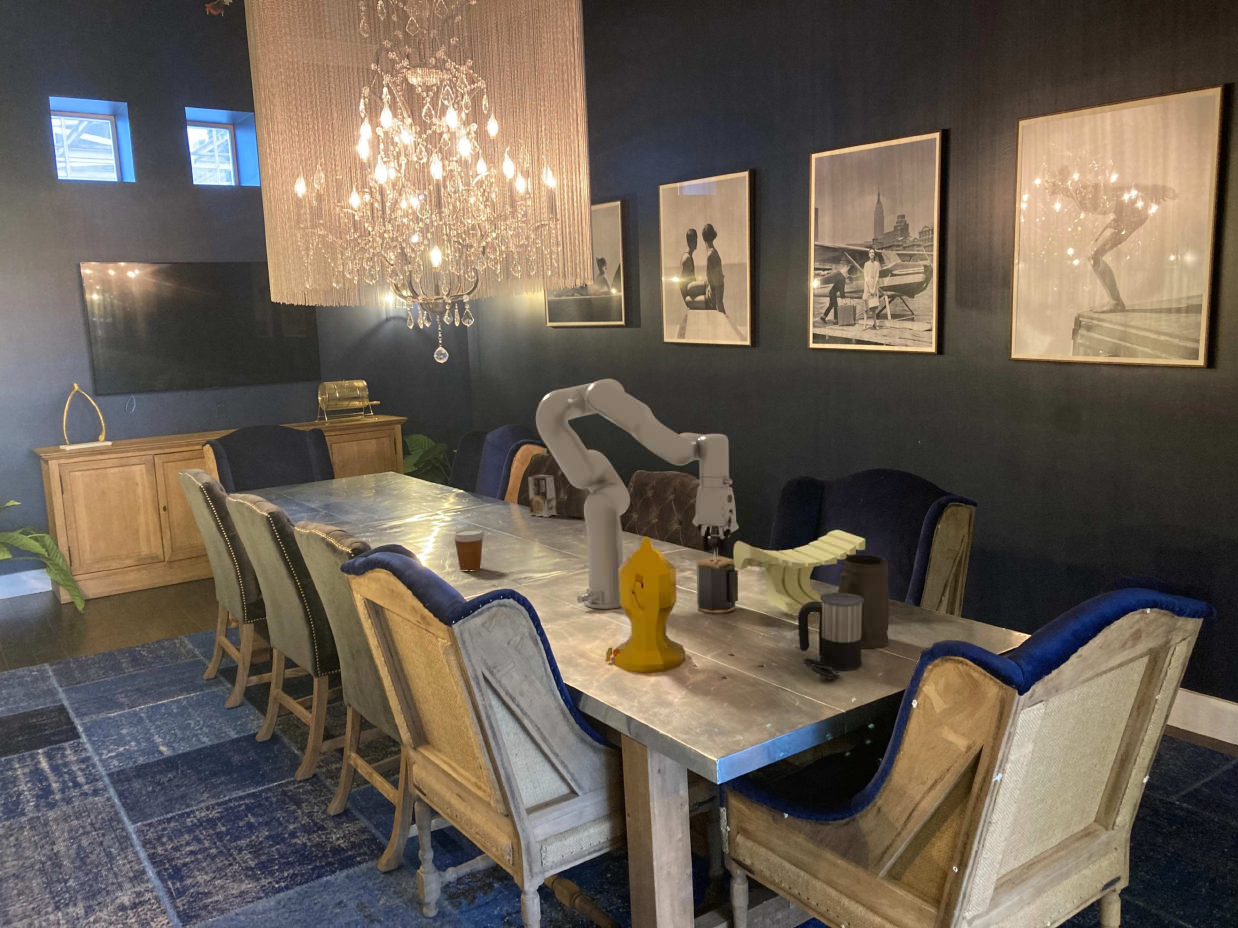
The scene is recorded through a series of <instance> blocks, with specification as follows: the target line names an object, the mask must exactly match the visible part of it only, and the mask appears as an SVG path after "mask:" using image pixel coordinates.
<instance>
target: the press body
mask: <svg viewBox="0 0 1238 928" xmlns="http://www.w3.org/2000/svg"><path fill="white" fill-rule="evenodd" d="M738 572H739V571H738V570H736V567H735V565H734V559H732V558H726V557H720V556H718V562H713V555H712V556H710V557H707V558H704V559H700V560H698V561H696V600H697V601H696V602H697V610H698V611H699V612H700V613H703V614H708V615H725V614H730V613H732V611H733V612H734V611H735V610H736V609H735V608H736V602H738V601H739V576H738V575H739V573H738Z"/></svg>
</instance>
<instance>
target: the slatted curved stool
mask: <svg viewBox="0 0 1238 928" xmlns="http://www.w3.org/2000/svg"><path fill="white" fill-rule="evenodd" d="M857 550H858V551H863V550H866V538H863V537H862V536H857V535H855V534H852V533H849V532H845V531H843V530H840V529H834V530H831V531H829V532H827V533H826V535H823V536H821V537H818V538H817V540H814V541H811V542H809V543H808V544H806V545H803V546H802V545H801V546H800V547H799V546H798V547H795V548H793V549H792V548H791V549H785V550H778V551H777V550H768V549H767V550H766V549H761V548H759V547H754V546H751V545H749V544H748V543H745V542H743V541H740V540H737V541H735V543H734V545H733V560H734V565H735V568H737V569H739V570H744V569H747V568H748V567H749V566H750V567H751V568H752V567H753V568H754V567H761V571H762V572H763V576H764V580H765V587H766V589H765V590H766V595H765V596H766V602H767V601H768V602H770V603H772V604H774V605H776V606H777V607H779V608H781V609H782V610H785V611H787V612H789V613H790V614H792V615H794V614H799V611H800V609H801V608H802V607H803V605H805V604H806V603H808V602H813V601H814V602H821V599H820V597H821V595H820V594H818V592H816V591H815V590H814V589H813V587H812V586H811V584H810V583H811V582H810V580H811V579H810V578H811V574H812V572H813V570H814V567H820V566H821V565H822V566H827V565H834V564H835V565H836V564H838V560H844V559H845V558H847V556H848V555H849V556H854V555H857V553H856V552H857ZM768 602H767V603H768ZM777 607H776V608H777ZM782 610H781V611H782ZM790 614H789V615H790ZM792 615H791V616H792ZM794 616H795V615H794Z"/></svg>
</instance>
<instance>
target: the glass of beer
mask: <svg viewBox="0 0 1238 928" xmlns="http://www.w3.org/2000/svg"><path fill="white" fill-rule="evenodd" d="M484 537H485V535H484V533H483V530H481V529H474V528H472V529H471V528H470V529H460V530H457V531H455V532H454V534H453V537H452V538H453V540H454V542H455V548H456V549H455V550H456V554H457V560H458V565H459V571H460V570H468V571H470V570H478V569H480V570H481V567H482V566H481V564H482V552H483V551H482V550H483V539H484ZM478 571H479V570H478Z"/></svg>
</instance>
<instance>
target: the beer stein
mask: <svg viewBox="0 0 1238 928" xmlns="http://www.w3.org/2000/svg"><path fill="white" fill-rule="evenodd" d="M887 560H888V559H886V558H885V557H882V556H879V555H873V554H853V555H849V556H846V558H845V559H843V565H842V568H843V572H841V573H840V574H839V585H838V590H837V591H838V592H837V593H849V594H854V595H858V596H860V597H862V598H863V599H864V602H863V604H862V619H861V649H879V648H883V646H884V647H885V646H887V645H889V643H890V639H889V635H888V631H889V625H890V624H889V623H890V622H889V620H890V615H889V614H890V613H889V610H890V604H889V603H890V602H889V600H890V591H889V590H890V589H889V584H888V578H889V577H888V576H889V575H888V571H889V565H888V561H887Z"/></svg>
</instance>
